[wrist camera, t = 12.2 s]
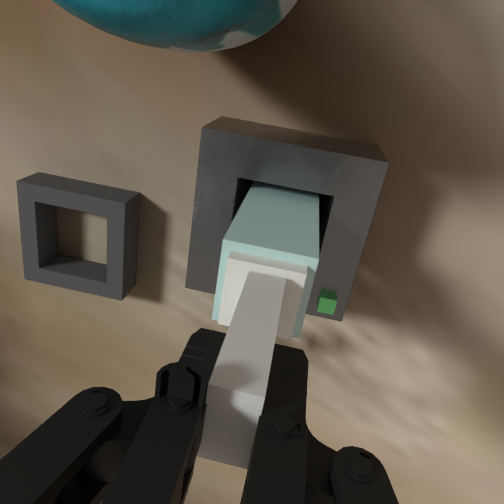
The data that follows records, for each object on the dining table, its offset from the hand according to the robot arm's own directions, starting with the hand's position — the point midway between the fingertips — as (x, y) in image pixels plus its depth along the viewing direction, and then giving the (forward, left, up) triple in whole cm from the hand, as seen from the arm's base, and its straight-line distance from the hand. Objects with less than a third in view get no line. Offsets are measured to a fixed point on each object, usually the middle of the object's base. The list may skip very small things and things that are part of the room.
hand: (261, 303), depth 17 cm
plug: (0, 0, -13) cm, 13 cm away
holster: (-14, -5, -13) cm, 20 cm away
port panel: (0, 0, -13) cm, 13 cm away
